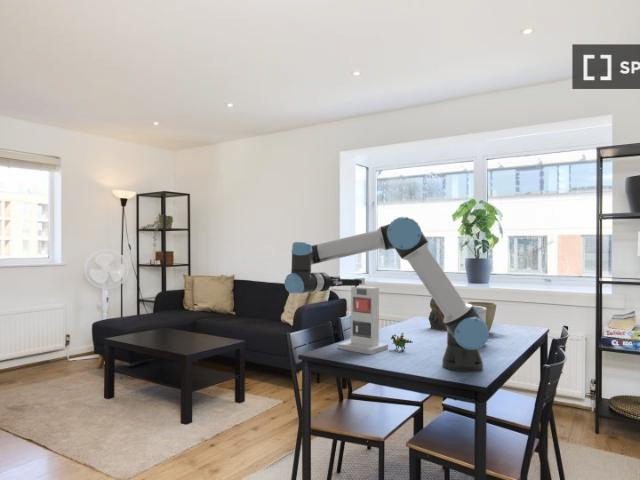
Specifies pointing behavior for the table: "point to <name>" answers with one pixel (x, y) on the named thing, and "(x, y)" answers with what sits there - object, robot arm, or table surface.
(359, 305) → the red rocker
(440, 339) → the table surface
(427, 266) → the robot arm
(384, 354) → the table surface
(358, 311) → the rocker switch stand
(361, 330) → the black rocker
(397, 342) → the figurine
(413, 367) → the table surface
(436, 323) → the owl
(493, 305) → the plant pot
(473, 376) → the table surface
